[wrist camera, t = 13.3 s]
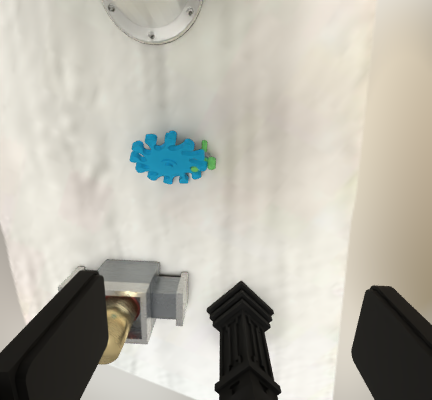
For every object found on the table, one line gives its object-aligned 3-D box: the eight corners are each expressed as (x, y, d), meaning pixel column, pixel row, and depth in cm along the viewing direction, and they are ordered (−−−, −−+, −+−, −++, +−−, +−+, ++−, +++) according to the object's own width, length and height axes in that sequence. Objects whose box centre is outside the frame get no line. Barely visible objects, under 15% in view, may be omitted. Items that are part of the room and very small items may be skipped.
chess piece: (273, 310, 45) (311, 449, 26) (238, 336, 47) (250, 484, 28) (241, 280, 44) (256, 404, 24) (207, 308, 45) (195, 445, 26)
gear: (131, 183, 38) (124, 136, 29) (138, 150, 41) (133, 98, 32) (208, 192, 39) (222, 150, 31) (209, 160, 42) (223, 113, 34)
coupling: (102, 292, 38) (76, 329, 31) (137, 294, 38) (118, 331, 31) (104, 321, 39) (80, 363, 32) (138, 323, 39) (121, 365, 32)
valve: (78, 257, 43) (46, 287, 35) (188, 263, 43) (181, 294, 35) (83, 302, 46) (55, 339, 38) (187, 308, 45) (180, 346, 38)
